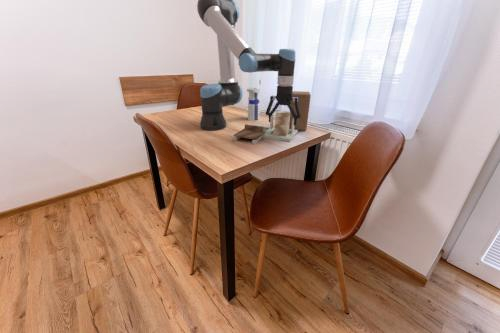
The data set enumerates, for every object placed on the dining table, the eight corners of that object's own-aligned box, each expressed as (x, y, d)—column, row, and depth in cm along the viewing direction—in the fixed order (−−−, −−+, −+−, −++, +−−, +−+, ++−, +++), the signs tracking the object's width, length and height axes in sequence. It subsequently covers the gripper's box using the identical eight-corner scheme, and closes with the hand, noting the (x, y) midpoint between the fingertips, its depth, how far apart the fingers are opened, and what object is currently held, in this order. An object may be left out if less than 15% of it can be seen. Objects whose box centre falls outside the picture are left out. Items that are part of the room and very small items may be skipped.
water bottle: (254, 116, 151) (255, 78, 140) (261, 119, 145) (263, 79, 134) (244, 118, 148) (244, 78, 136) (251, 121, 141) (251, 79, 130)
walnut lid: (234, 136, 108) (233, 130, 107) (244, 129, 118) (244, 124, 117) (256, 139, 104) (256, 133, 103) (265, 132, 114) (265, 126, 112)
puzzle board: (231, 140, 109) (231, 137, 108) (252, 126, 130) (252, 124, 129) (284, 148, 99) (284, 145, 98) (297, 132, 120) (297, 129, 119)
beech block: (274, 136, 115) (275, 113, 109) (277, 132, 119) (279, 110, 114) (285, 137, 112) (287, 114, 107) (288, 134, 117) (290, 111, 112)
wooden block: (306, 131, 122) (311, 94, 113) (288, 130, 124) (291, 93, 115) (305, 126, 131) (310, 91, 122) (289, 125, 132) (292, 90, 124)
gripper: (259, 84, 106) (258, 128, 116) (307, 87, 97) (302, 134, 107) (265, 83, 112) (263, 125, 122) (311, 85, 103) (305, 130, 113)
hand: (281, 129), depth 115 cm, fingers open, 11 cm apart
